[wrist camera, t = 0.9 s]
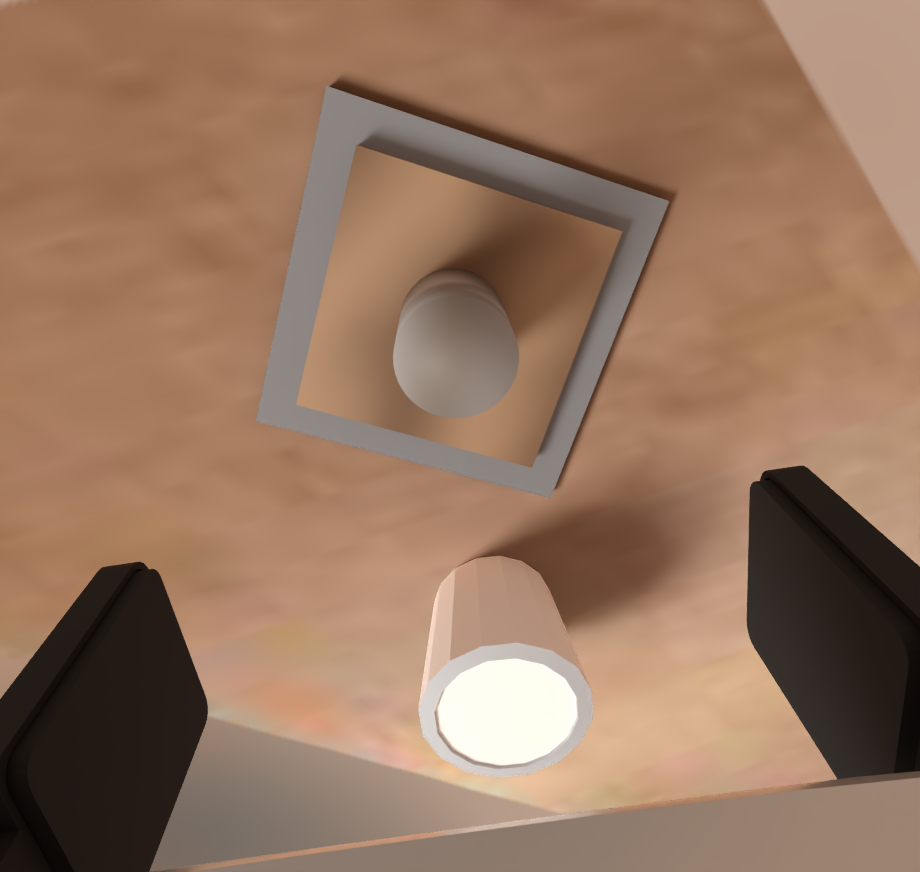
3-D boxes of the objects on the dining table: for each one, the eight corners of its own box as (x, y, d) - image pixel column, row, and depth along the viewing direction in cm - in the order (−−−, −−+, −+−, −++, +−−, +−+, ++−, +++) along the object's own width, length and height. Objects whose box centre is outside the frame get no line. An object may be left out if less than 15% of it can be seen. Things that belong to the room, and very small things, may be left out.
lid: (617, 229, 26) (663, 251, 21) (529, 459, 30) (550, 529, 25) (358, 144, 25) (338, 146, 20) (299, 398, 29) (268, 457, 23)
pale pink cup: (504, 517, 32) (522, 613, 25) (592, 611, 34) (629, 721, 28) (391, 599, 33) (381, 710, 27) (482, 684, 36) (492, 805, 29)
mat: (665, 200, 27) (669, 201, 26) (548, 492, 31) (550, 498, 31) (328, 86, 25) (326, 85, 24) (258, 416, 29) (255, 420, 29)
